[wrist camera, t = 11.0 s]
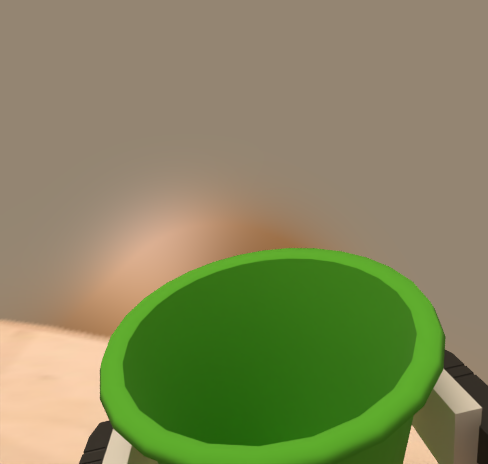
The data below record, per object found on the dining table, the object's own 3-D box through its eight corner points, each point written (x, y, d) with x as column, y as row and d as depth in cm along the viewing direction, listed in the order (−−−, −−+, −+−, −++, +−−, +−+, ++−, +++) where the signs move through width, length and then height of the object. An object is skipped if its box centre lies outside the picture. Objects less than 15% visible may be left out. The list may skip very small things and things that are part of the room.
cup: (496, 586, 11) (528, 305, 8) (281, 912, 7) (144, 635, 4) (314, 411, 19) (288, 232, 15) (162, 520, 15) (81, 311, 11)
